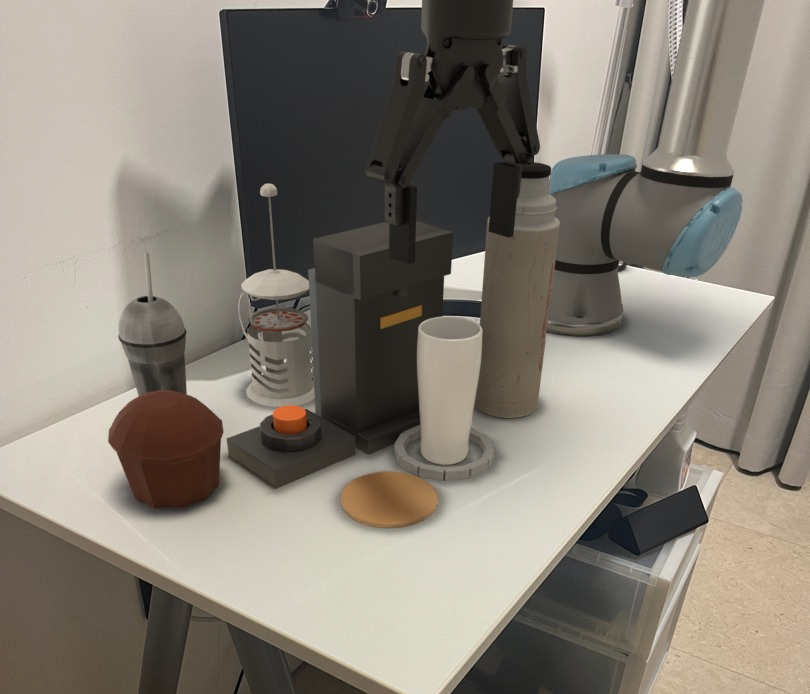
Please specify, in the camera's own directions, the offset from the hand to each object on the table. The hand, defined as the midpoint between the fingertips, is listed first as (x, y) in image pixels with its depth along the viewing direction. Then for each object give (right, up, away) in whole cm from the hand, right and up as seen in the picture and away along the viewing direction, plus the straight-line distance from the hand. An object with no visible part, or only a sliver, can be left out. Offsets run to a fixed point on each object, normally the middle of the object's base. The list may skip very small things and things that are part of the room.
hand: (453, 246), depth 80 cm
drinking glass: (0, -19, +14) cm, 23 cm away
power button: (-17, -16, +11) cm, 26 cm away
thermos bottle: (+8, -11, +25) cm, 28 cm away
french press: (-21, -9, +27) cm, 35 cm away
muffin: (-29, -23, +7) cm, 37 cm away
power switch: (-17, -19, +13) cm, 29 cm away
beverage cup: (-33, -15, +18) cm, 40 cm away
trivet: (-6, -24, +6) cm, 26 cm away
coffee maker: (-4, -16, +17) cm, 24 cm away
